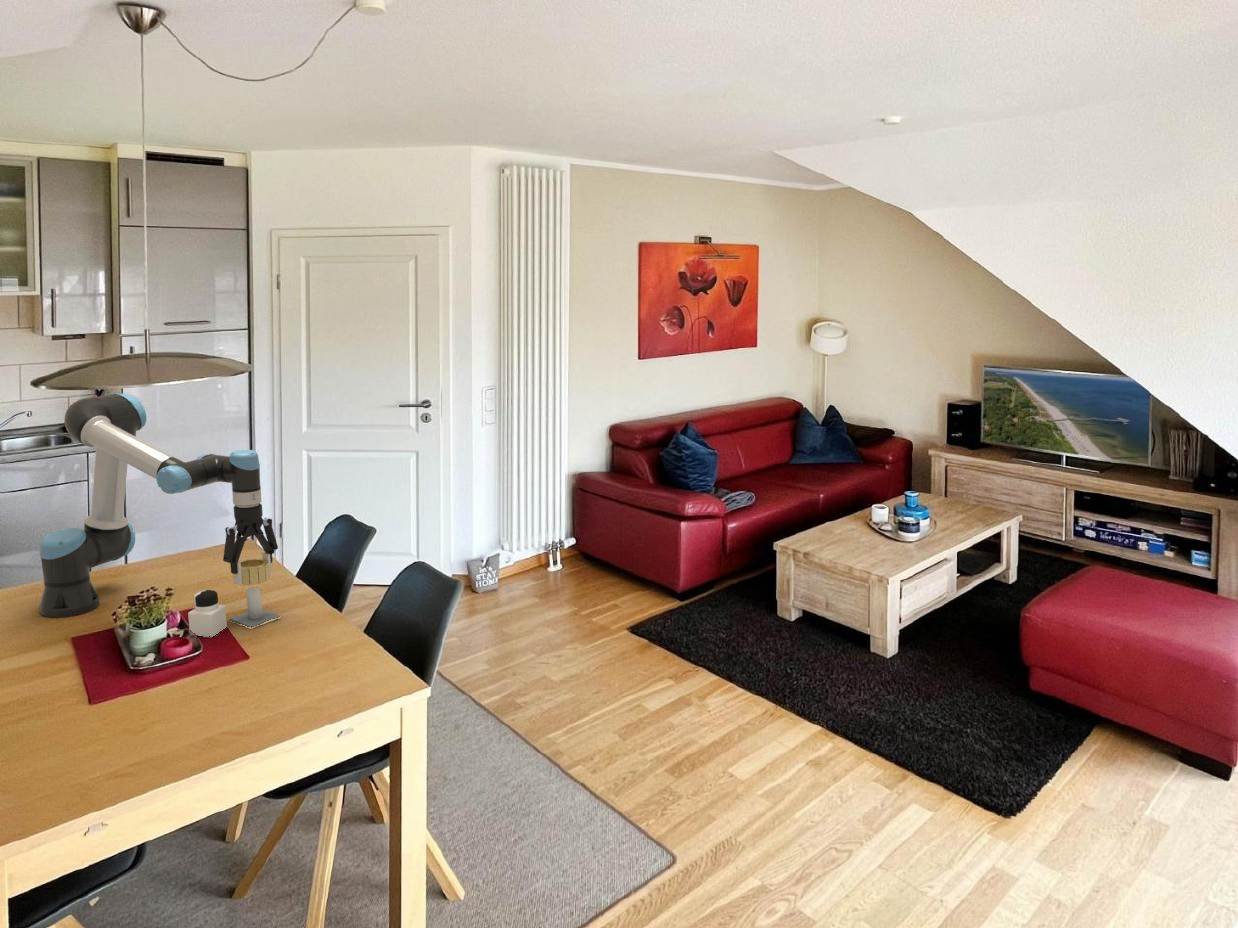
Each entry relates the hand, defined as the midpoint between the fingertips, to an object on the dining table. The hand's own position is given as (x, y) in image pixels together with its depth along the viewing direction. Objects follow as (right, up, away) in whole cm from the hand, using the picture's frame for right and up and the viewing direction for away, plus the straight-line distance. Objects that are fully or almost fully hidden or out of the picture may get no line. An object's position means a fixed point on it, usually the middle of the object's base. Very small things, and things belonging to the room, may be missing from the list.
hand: (253, 578), depth 255 cm
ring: (0, 0, 0) cm, 0 cm away
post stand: (0, -12, +3) cm, 13 cm away
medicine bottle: (-10, -14, -6) cm, 19 cm away
